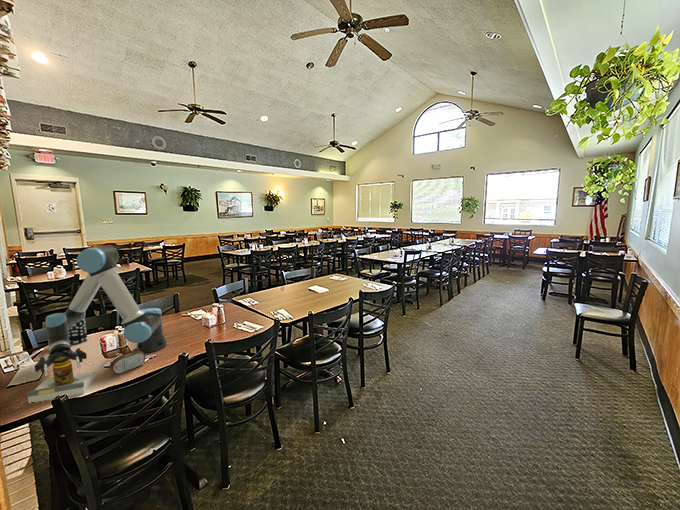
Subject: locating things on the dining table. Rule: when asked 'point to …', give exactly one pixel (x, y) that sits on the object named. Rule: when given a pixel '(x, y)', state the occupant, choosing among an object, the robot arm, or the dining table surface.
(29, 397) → the grey striped flat slab
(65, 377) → the condiment
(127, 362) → the brown grey oval slab
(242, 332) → the dining table surface
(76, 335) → the spotted tube
